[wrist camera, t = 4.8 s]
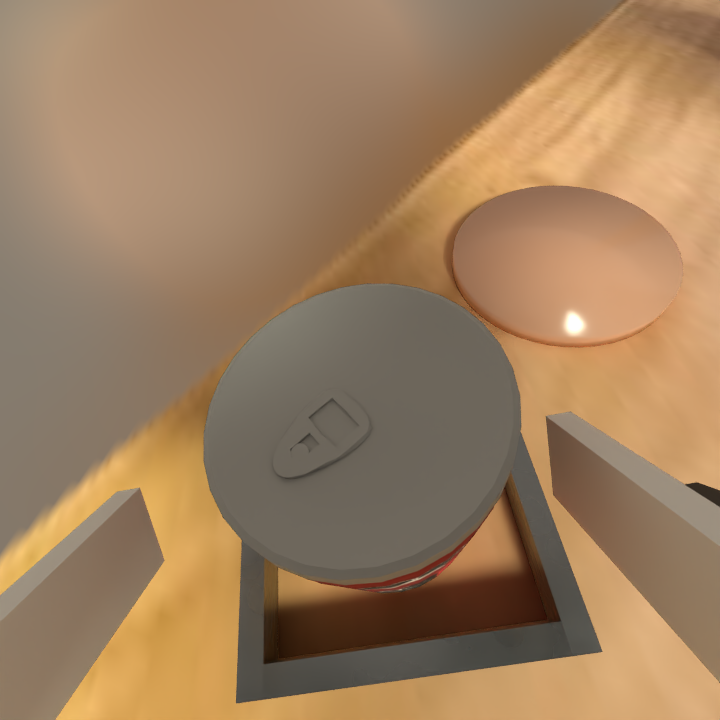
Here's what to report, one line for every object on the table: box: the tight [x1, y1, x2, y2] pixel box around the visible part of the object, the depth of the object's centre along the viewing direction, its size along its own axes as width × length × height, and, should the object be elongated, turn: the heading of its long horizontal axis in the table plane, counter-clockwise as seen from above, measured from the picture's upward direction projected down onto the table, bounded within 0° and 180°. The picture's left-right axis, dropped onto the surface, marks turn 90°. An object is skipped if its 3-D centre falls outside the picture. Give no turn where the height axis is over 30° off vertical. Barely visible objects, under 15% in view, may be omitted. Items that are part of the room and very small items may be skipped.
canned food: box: [204, 284, 521, 593], centre depth 14 cm, size 8×8×11 cm
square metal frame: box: [236, 432, 602, 703], centre depth 18 cm, size 13×13×2 cm
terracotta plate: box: [452, 186, 683, 347], centre depth 25 cm, size 13×13×1 cm
